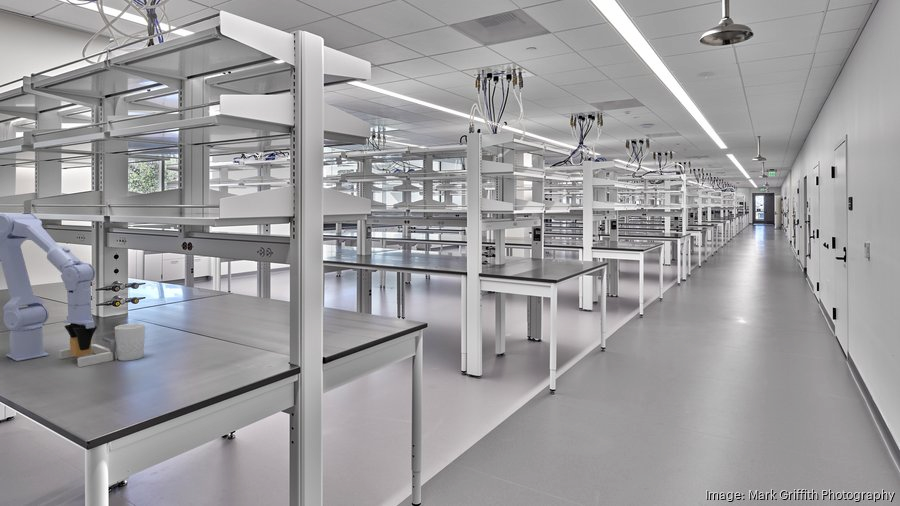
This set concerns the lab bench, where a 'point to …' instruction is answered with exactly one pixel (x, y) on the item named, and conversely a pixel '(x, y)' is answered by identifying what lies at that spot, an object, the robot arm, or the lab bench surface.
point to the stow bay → (101, 353)
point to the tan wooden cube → (77, 348)
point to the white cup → (130, 341)
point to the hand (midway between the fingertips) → (81, 348)
